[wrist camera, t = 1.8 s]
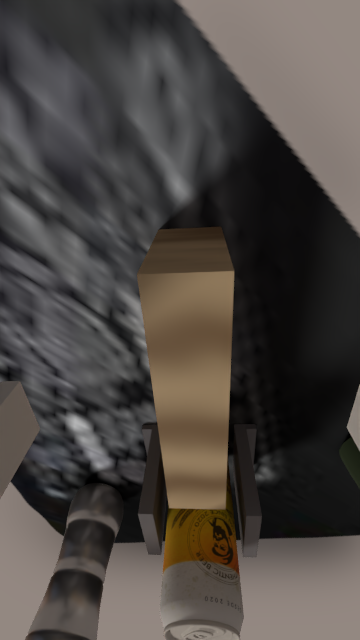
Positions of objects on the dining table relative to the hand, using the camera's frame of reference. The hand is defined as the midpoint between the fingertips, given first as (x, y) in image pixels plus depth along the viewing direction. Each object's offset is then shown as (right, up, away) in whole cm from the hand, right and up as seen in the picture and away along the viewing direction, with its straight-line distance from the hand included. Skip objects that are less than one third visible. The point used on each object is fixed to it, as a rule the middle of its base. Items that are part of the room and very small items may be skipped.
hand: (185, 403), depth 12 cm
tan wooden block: (+1, +1, +15) cm, 15 cm away
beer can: (+2, -11, +22) cm, 25 cm away
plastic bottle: (-10, -19, +27) cm, 35 cm away
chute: (+2, -11, +21) cm, 24 cm away
